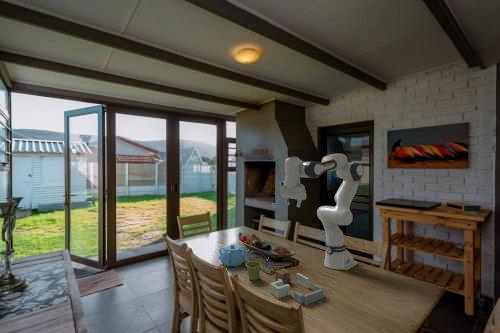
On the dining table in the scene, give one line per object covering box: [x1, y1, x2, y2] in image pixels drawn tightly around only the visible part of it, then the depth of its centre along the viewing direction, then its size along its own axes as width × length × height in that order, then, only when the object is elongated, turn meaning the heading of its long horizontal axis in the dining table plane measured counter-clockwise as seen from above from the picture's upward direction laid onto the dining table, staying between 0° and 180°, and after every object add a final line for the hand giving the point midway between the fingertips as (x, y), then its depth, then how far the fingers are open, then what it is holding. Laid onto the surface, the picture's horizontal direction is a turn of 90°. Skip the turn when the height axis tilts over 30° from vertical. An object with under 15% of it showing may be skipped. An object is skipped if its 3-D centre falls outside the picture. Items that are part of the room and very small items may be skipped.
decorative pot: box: [218, 243, 247, 268], centre depth 172 cm, size 16×16×14 cm
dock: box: [293, 284, 324, 306], centre depth 125 cm, size 15×6×4 cm, turn 120°
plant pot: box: [245, 260, 262, 281], centre depth 150 cm, size 9×9×9 cm
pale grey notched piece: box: [269, 272, 311, 299], centre depth 135 cm, size 21×9×5 cm, turn 120°
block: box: [275, 268, 291, 285], centre depth 144 cm, size 6×6×6 cm
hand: (293, 206), depth 150 cm, fingers open, 8 cm apart
